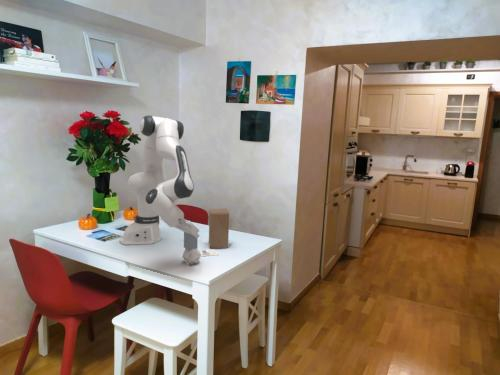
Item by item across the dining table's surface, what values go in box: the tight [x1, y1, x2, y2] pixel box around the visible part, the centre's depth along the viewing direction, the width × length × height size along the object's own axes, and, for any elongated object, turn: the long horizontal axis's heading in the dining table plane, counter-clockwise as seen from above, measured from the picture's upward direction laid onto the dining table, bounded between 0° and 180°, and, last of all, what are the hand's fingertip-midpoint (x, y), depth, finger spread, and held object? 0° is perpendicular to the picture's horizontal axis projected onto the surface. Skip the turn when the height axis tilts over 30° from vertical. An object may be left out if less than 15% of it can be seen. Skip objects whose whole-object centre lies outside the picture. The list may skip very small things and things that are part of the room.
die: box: [181, 247, 201, 265], centre depth 176 cm, size 8×9×10 cm
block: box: [208, 208, 230, 249], centre depth 201 cm, size 10×10×20 cm
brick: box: [183, 232, 199, 250], centre depth 174 cm, size 5×5×8 cm
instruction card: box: [199, 248, 219, 258], centre depth 190 cm, size 12×8×1 cm, turn 112°
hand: (192, 234), depth 174 cm, fingers open, 8 cm apart
